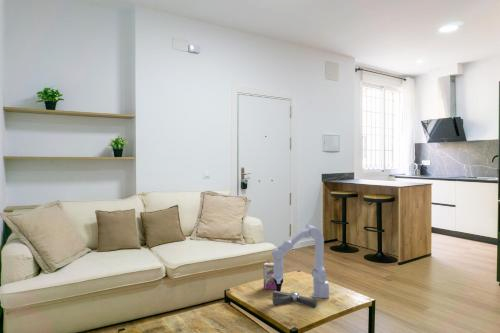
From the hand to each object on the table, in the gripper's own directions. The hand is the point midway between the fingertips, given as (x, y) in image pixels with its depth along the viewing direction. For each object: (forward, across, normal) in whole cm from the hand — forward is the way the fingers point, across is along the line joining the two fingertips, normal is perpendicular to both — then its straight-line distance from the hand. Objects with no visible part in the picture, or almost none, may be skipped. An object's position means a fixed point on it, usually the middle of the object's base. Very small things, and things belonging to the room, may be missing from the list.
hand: (278, 290), depth 199 cm
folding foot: (+6, -4, +2) cm, 7 cm away
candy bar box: (+6, -18, -4) cm, 20 cm away
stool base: (+6, +3, +9) cm, 11 cm away
